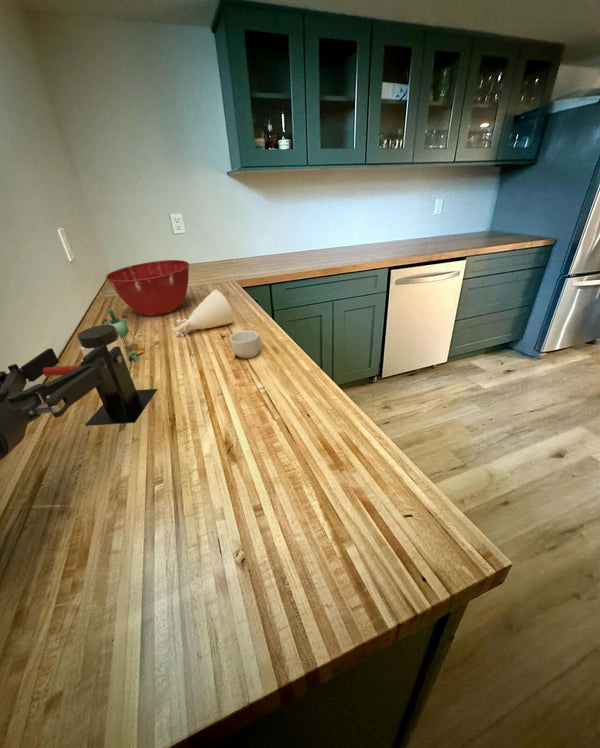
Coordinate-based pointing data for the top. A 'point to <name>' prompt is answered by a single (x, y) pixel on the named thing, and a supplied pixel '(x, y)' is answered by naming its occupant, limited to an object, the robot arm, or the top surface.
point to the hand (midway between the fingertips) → (80, 353)
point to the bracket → (119, 393)
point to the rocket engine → (207, 314)
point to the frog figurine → (123, 331)
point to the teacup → (245, 343)
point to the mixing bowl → (152, 286)
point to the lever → (60, 370)
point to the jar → (101, 340)
